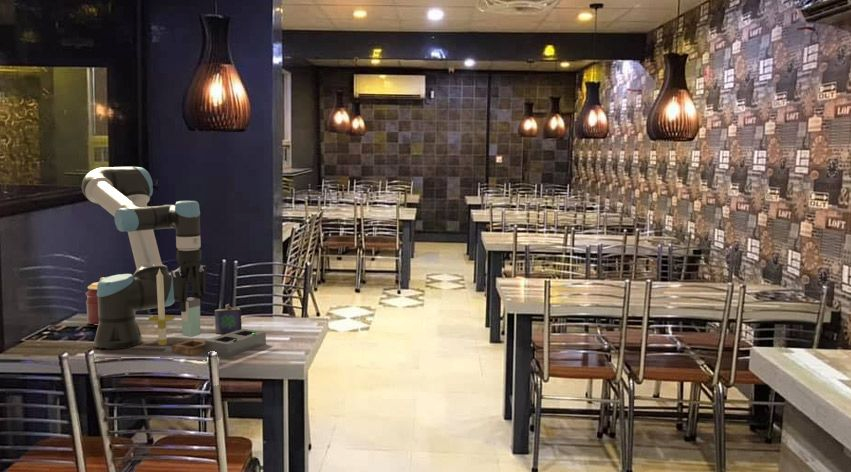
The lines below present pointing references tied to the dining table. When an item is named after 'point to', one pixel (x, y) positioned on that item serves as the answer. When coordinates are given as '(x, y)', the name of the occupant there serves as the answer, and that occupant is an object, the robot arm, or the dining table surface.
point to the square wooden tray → (189, 347)
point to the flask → (227, 320)
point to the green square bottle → (192, 319)
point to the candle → (161, 311)
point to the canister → (92, 304)
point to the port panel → (235, 342)
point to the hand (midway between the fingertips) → (191, 319)
